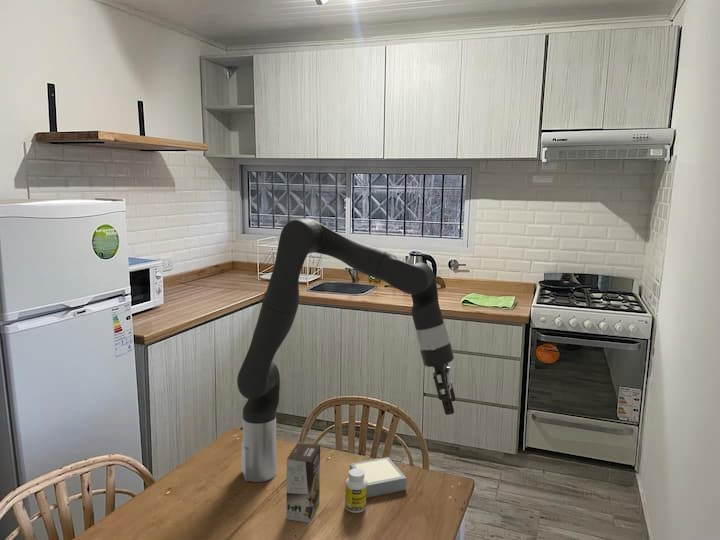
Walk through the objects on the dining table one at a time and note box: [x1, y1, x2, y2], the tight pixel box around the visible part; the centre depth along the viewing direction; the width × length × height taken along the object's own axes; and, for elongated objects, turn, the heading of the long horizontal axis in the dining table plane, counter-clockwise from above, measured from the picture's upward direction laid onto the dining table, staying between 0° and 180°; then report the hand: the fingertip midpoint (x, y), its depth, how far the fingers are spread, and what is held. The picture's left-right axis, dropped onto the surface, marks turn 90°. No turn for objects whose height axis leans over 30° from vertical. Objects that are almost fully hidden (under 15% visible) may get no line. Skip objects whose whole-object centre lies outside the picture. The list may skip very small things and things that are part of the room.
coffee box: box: [285, 442, 321, 524], centre depth 135 cm, size 9×6×16 cm
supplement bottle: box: [344, 468, 367, 514], centre depth 138 cm, size 5×5×10 cm
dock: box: [349, 456, 407, 499], centre depth 150 cm, size 12×12×4 cm
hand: (450, 407), depth 131 cm, fingers open, 8 cm apart
